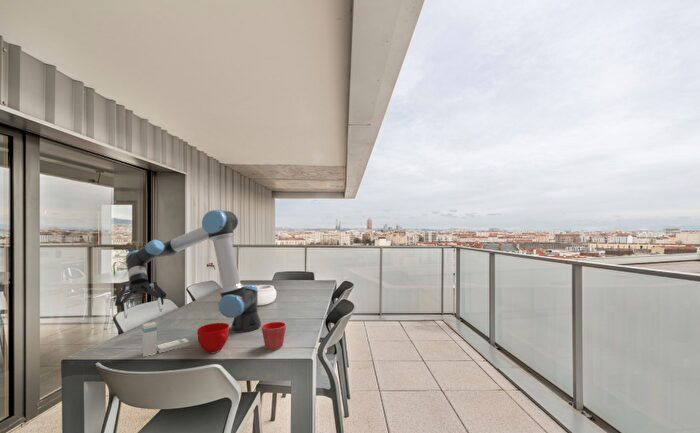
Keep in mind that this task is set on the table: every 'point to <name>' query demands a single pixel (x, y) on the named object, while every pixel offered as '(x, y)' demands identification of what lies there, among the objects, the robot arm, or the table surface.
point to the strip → (173, 345)
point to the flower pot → (273, 335)
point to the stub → (149, 338)
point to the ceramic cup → (213, 336)
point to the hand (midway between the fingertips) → (144, 313)
